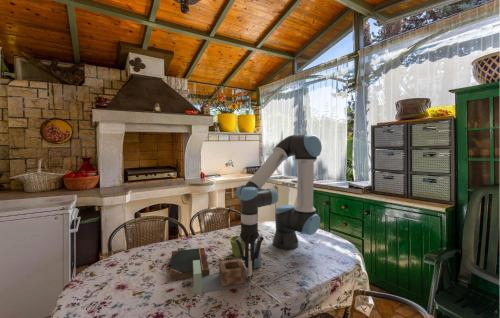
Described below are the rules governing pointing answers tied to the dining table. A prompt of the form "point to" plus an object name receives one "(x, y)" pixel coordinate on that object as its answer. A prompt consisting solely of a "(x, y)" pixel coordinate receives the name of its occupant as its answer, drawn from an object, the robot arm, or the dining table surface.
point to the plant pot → (236, 246)
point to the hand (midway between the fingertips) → (249, 273)
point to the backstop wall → (197, 276)
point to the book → (187, 263)
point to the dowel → (257, 261)
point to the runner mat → (216, 283)
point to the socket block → (232, 272)
